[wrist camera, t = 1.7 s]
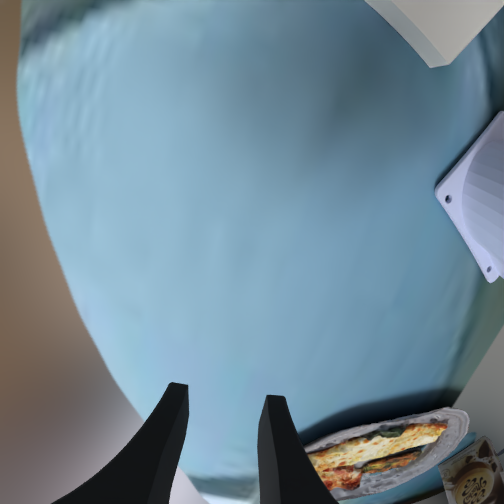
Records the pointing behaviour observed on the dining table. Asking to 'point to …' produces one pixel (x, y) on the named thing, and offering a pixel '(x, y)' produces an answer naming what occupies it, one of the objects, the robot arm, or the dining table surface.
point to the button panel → (437, 24)
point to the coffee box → (474, 475)
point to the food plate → (385, 451)
